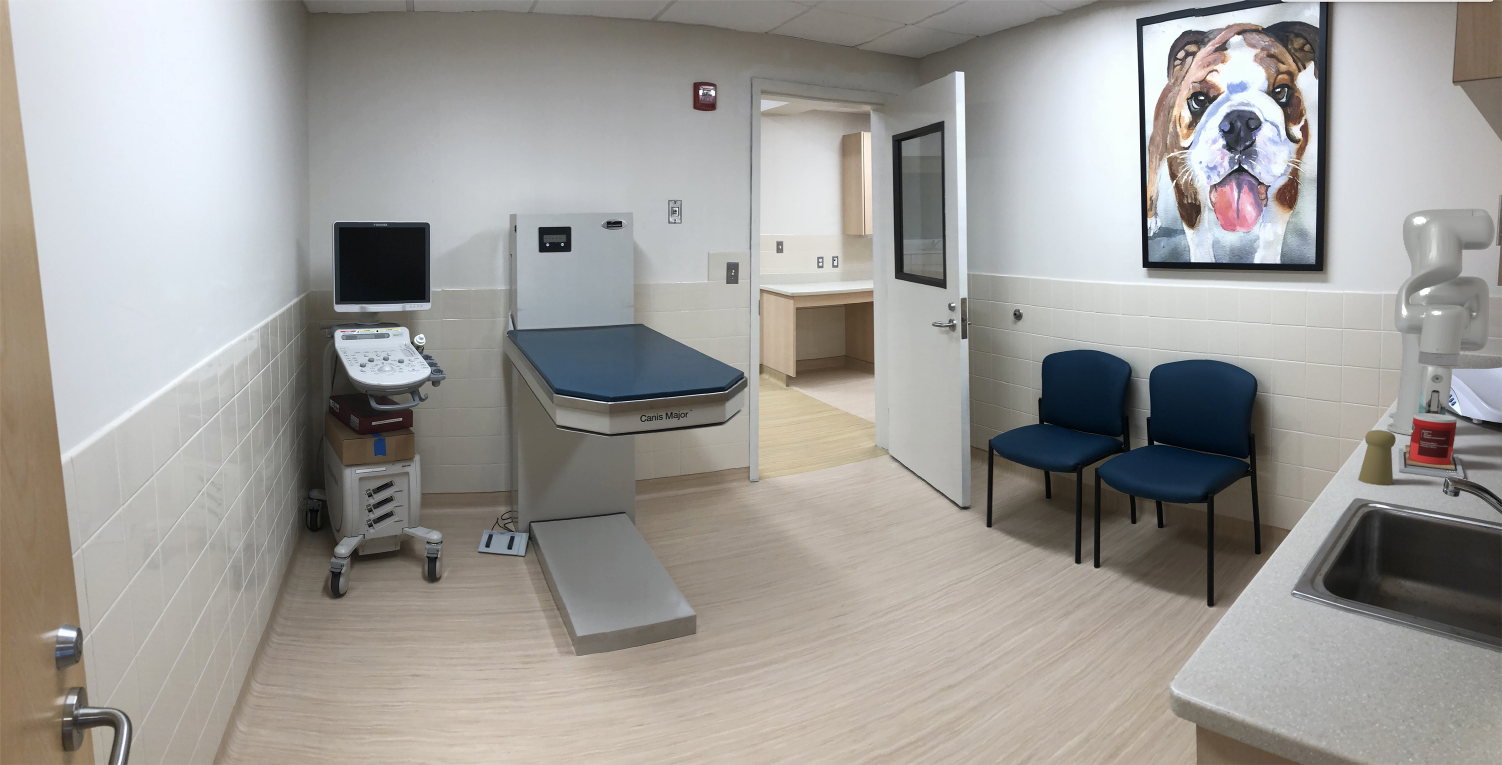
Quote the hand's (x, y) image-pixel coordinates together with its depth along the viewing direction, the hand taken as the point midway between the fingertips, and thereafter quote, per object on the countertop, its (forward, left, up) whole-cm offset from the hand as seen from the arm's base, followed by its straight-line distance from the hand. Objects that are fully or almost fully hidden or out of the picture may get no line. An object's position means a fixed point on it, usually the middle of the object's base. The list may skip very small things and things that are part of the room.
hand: (1429, 434), depth 206 cm
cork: (+25, -30, -4) cm, 39 cm away
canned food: (+12, -9, -4) cm, 16 cm away
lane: (+13, -9, -4) cm, 16 cm away
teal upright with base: (+8, -5, -4) cm, 10 cm away
